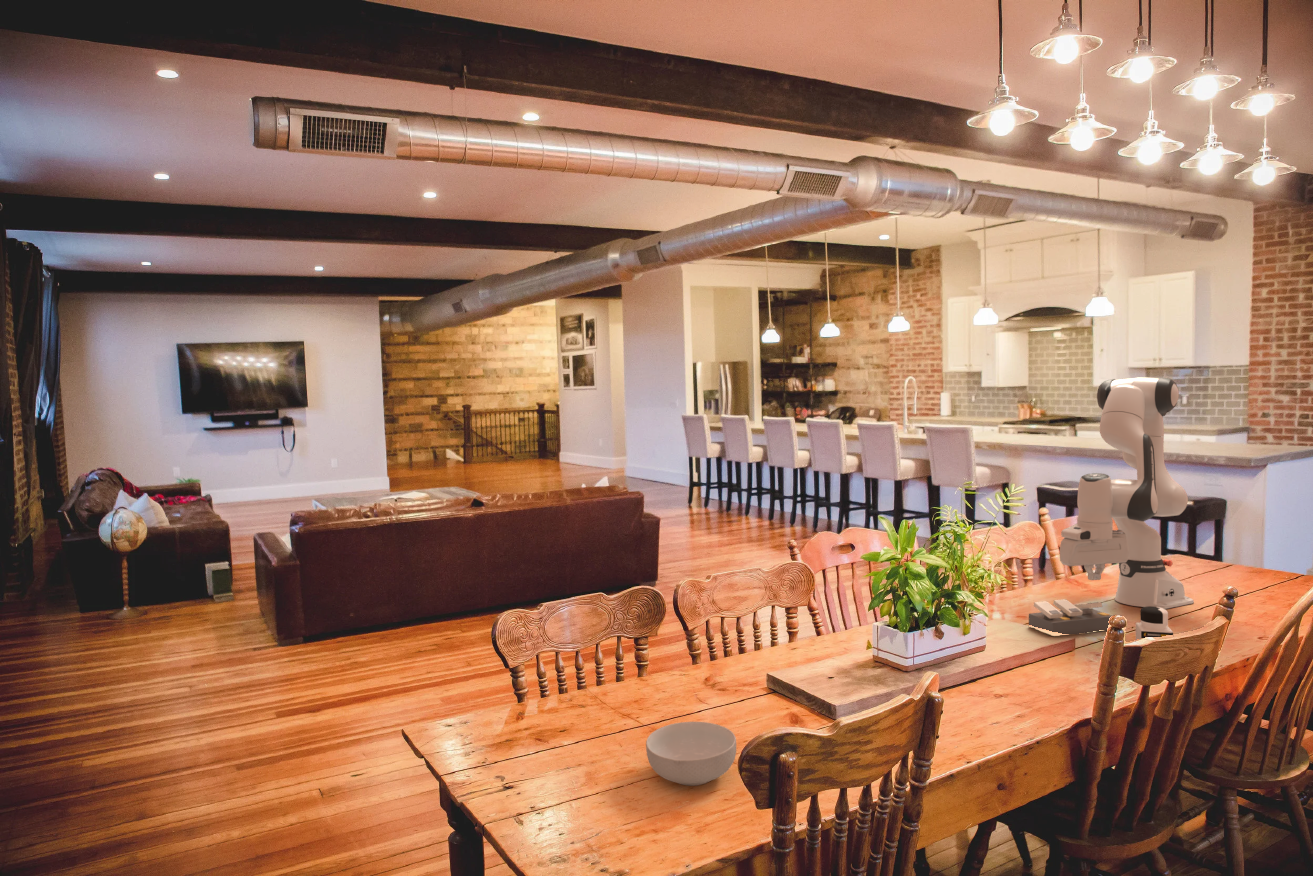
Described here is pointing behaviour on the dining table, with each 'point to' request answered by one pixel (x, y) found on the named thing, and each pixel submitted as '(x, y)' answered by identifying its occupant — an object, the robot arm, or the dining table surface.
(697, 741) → the cereal bowl
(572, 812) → the dining table surface
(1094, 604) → the rocker
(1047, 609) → the rocker
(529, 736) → the dining table surface
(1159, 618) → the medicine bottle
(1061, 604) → the rocker
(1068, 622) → the switch unit
